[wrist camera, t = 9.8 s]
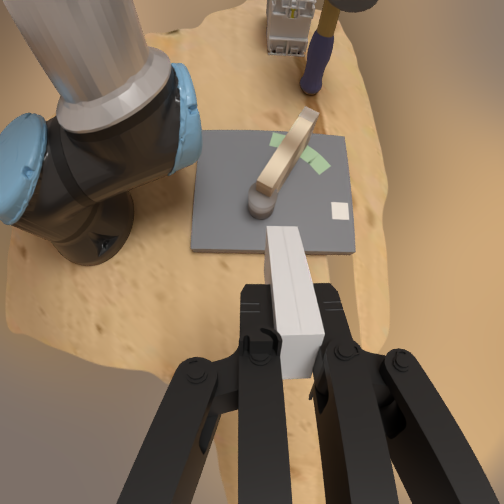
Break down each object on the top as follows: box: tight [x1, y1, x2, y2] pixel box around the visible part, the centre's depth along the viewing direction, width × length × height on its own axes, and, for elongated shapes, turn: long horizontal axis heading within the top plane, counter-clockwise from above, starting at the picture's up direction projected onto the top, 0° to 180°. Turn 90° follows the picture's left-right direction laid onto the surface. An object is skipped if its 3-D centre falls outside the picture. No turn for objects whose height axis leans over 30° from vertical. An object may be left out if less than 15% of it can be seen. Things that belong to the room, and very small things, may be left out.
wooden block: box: [248, 106, 319, 219], centre depth 38 cm, size 15×4×8 cm, turn 150°
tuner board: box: [191, 130, 356, 255], centre depth 44 cm, size 23×19×2 cm
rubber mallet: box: [300, 0, 378, 95], centre depth 34 cm, size 12×8×30 cm, turn 4°
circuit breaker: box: [266, 0, 316, 57], centre depth 45 cm, size 8×14×15 cm, turn 1°
